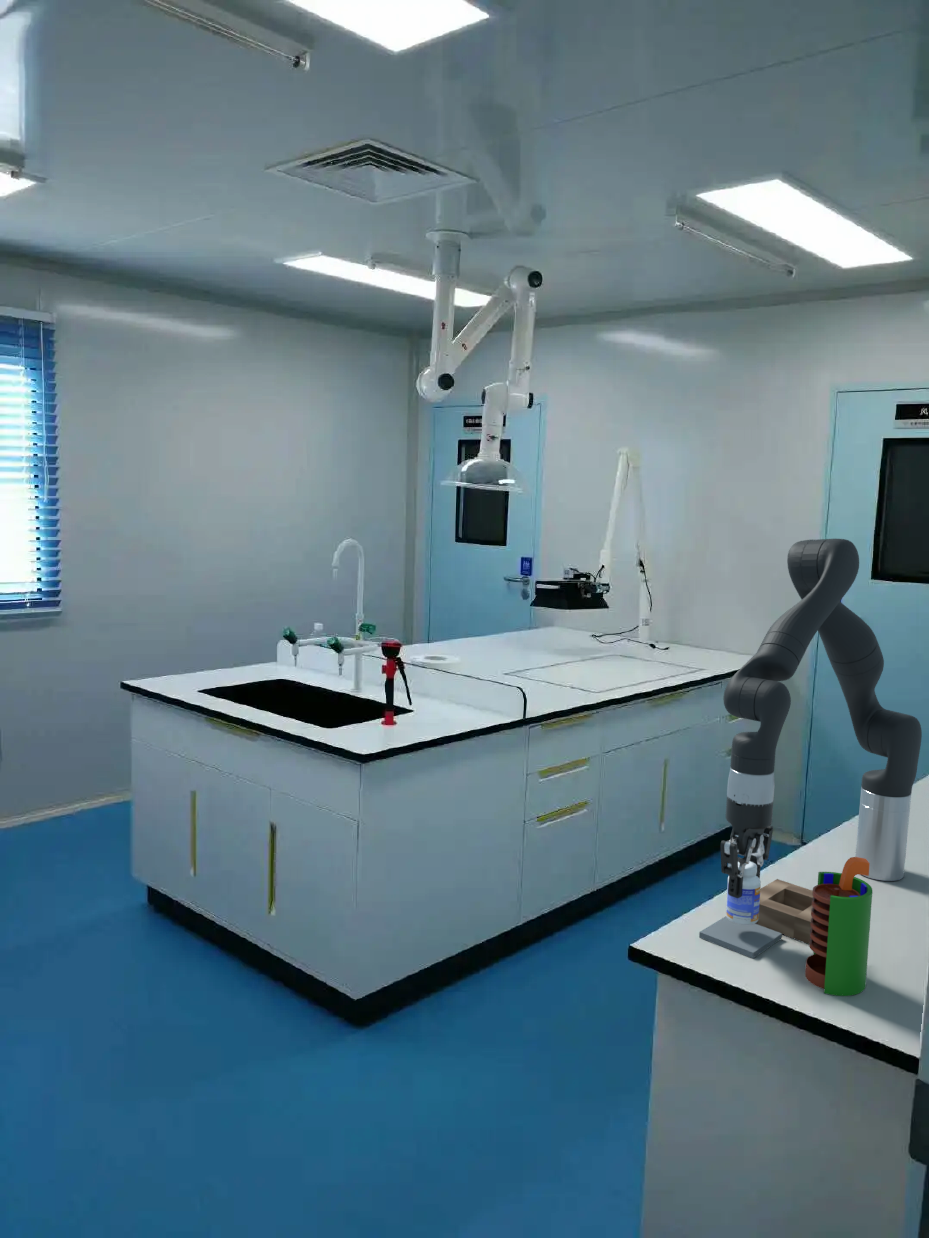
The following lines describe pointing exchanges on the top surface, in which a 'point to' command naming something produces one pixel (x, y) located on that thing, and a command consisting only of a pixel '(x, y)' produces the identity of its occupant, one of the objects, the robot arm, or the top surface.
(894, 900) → the top surface
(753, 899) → the pill bottle
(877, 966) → the top surface
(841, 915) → the green brown cylinder
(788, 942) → the top surface
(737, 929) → the mat
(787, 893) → the socket block
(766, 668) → the robot arm
